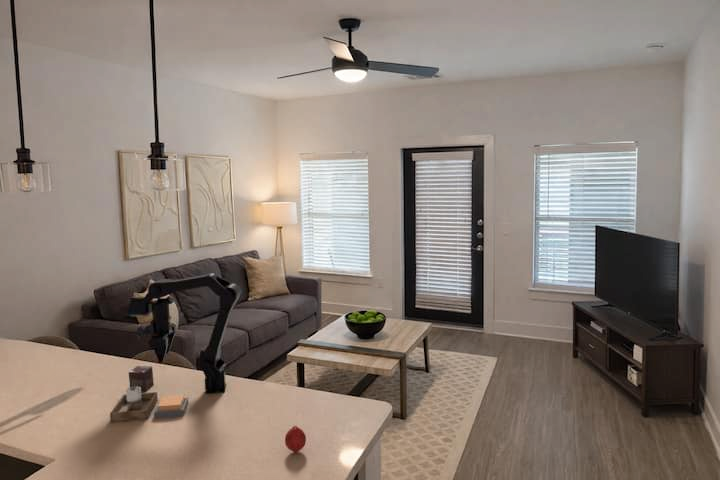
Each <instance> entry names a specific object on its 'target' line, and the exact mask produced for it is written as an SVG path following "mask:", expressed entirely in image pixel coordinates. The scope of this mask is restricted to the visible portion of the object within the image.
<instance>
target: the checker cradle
mask: <svg viewBox="0 0 720 480" xmlns="http://www.w3.org/2000/svg"><path fill="white" fill-rule="evenodd" d="M160 401H161V399H160V400H159V402H158V404H157V406H156V408H155V409H154V411H153V415H154V417H153V418H154V419H162V418H163V419H164V418H174V417H184V416H185V413H186V411H187V409H188V407H189V397H185V402H184V404H183V406H182V409H178V410H165V411H158V405H159V403H160Z"/></svg>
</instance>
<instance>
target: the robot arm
mask: <svg viewBox="0 0 720 480" xmlns="http://www.w3.org/2000/svg"><path fill="white" fill-rule="evenodd" d="M204 287H208V288H209V289H210V290H211V291H212V292H213V293H214V294H215V295H216V296H218V297H219V301H218V302H219V308H218V309H219V311H218V312H217V313H218V314H217V317H216V320H215V322H214V323H215V324H214V326H213V329H212V333H211V334H210V335H211V336H210V339H209V342H208V344H205V345H204V347H203V348H202V349H201V350H200V353H199V357H198V359H197V360H196V361H197V362H198V367H199V369H200V370H201V371H202V372H203V375H204V389H205V393H206V394H215V393H225V392H226V388H227V383H226V371H225V368H226V366H227V362H226V361H225V360H224V359H222V357H221V352H222V348H221V345H222V342H223V339H224V336H225V332H226V329H227V326H228V323H229V321H230V320H229V319H230V318H231V317H230V316H231V313H232V310H233V308H234V307H235V305H236V304H237V302H238V301H239V298H240V296H241V294H242V289H241V287H240V286H239V285H238V284H236V283H232V282H230V281H228V280H227V279H224V278H223V277H220V276H219V275H217V274H215V273H213V272H210V273H208V274H203V275H197V276H193V277H191V276H190V277H186V278H180V279H171V278H160V279H158V280H156V281H153V282H152V283H150V284H149V286H148V288H147V293H146V294H145V296H132V297H130V302H129V304H128V309H127V312H128V314H129V316H130V317H140V316H141V317H148V316H149V315H150V314H151V315H152V319H151V320H150V321H149V322H147V323H145V324H143V325H140V326H138V327H137V328H136V329H135V336H137V337H138V339H143V337H146V336H148V335H151V336H150V337H149V339H148V340H147V341H146V346H147V348H149V349H152V350H153V351H154V353H155V356H156V358H157V361H158V363H159V364H163V363H164V360H165V359H164V358H165V355H166V354H169V352H170V349H171V347H172V344H173V340H174V337H175V335H176V332H177V325H176V324H175V323H174V322H172V323H171V319H172V316H171V315H170V314H171V313H170V305H172V304H173V303H174V302H176V300H175V299H174V298H172V297H171V295H172V294H174V293H177V292H181V291H187V290H194V289H199V288H204ZM166 296H167V297H166Z"/></svg>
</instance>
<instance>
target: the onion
mask: <svg viewBox="0 0 720 480" xmlns="http://www.w3.org/2000/svg"><path fill="white" fill-rule="evenodd" d="M306 442H307V437H306V434H305V431H304V430H303V429H301V428H300V427H298V426H297V425H293V426H292V428H290V429H289V430H288V431H287V432H286V434H285V436H284V444H285V447H286V448H287V449H288V450H289V451H292V452H293V453H295V454H297V453H299V452H300V451H301V450H302V449H303V448H304V447H305V445H306Z"/></svg>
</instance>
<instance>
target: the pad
mask: <svg viewBox="0 0 720 480" xmlns="http://www.w3.org/2000/svg"><path fill="white" fill-rule="evenodd" d="M185 398H186V397H185V395H183V394H182V395H170V396H169V395H168V396H162V397H161V399H160V400H161V401H160V400H159V402H160V403H159V402H158V404H159V405H158V404H157V406H158V411H165V410H178V409H182V407H183V404H184V402H185Z"/></svg>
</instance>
